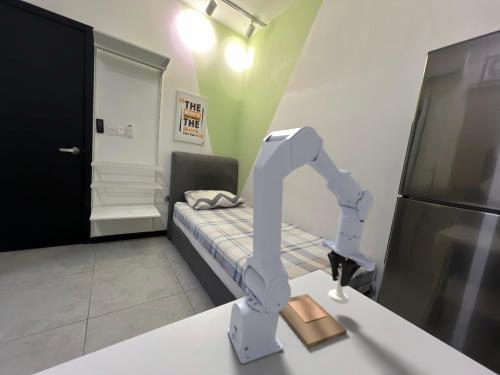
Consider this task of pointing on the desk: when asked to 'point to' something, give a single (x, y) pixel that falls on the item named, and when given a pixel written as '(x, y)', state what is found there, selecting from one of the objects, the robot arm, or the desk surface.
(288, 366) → the desk surface
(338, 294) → the chess piece
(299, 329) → the walnut board
